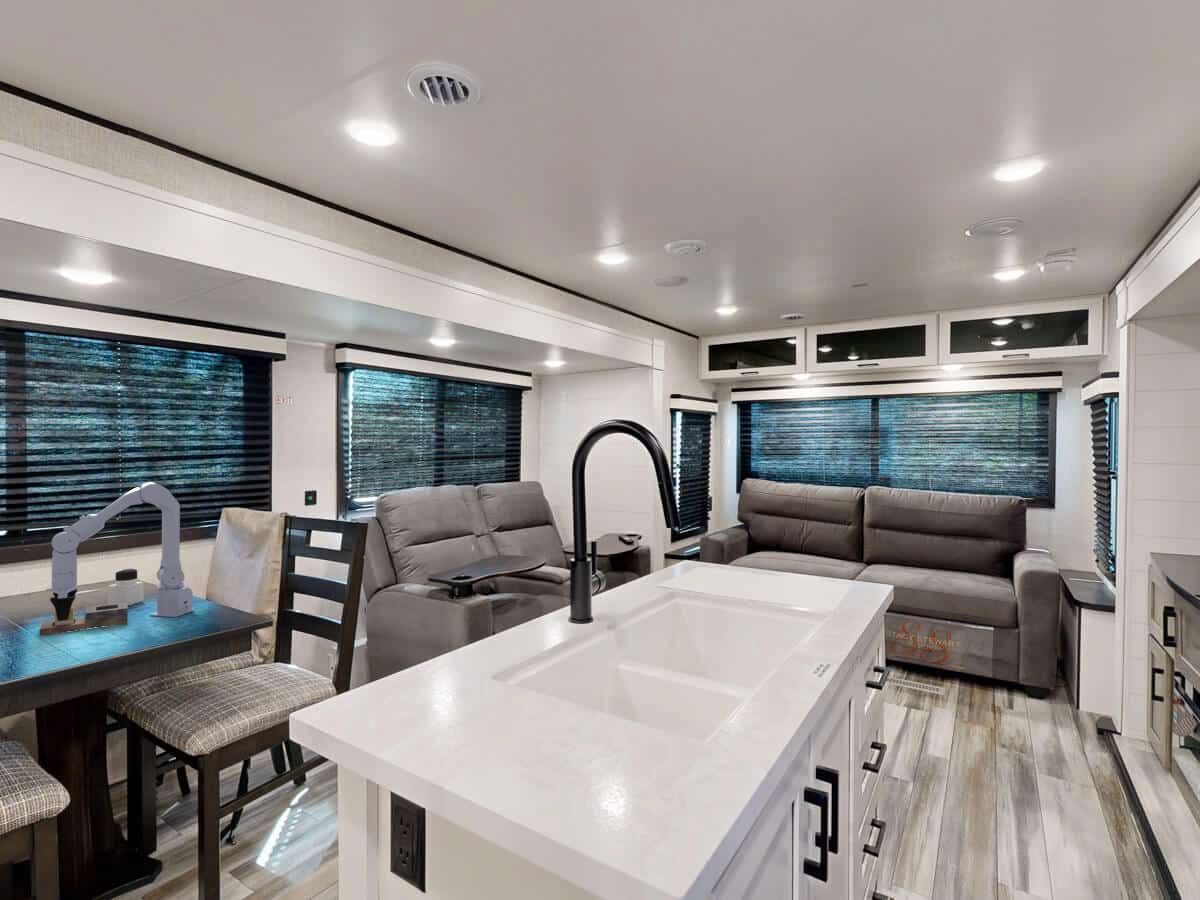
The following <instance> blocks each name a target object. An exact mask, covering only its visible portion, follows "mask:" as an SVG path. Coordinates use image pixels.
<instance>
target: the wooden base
mask: <svg viewBox="0 0 1200 900" xmlns="http://www.w3.org/2000/svg"><path fill="white" fill-rule="evenodd" d="M128 607H129V606H128V605H127V602H123V603H114V604H108V603H107V604H98V605H90V606H86V609H85V615H84V616H79V617H78V616H77V617H74V623H72V624H65V625H57V626H55V619H54V620H46V621H42V623H41V625H40V628H39V636H40V637H42V636H41V635H44V636H50V635H49V634H52V635H57V634H56V633H59V634H63V633H62V632H66V633H68V632H67V631H74V632H76V631H75V630H80V629H87V628H94V627H102V626H110V627H112V626H111V625H118V626H121V625H120V624H125V625H128V618H129V617H128V616H129V614H128V612H129V611H128V610H129V609H128Z"/></svg>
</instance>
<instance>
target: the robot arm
mask: <svg viewBox="0 0 1200 900" xmlns="http://www.w3.org/2000/svg"><path fill="white" fill-rule="evenodd" d="M143 501H144V502H145V503H147V504H151V505H154V506H155V507H157V509H159V510H161V561H160V567H159V569H158V571H157V572H156V578H157V579H158V581H159V583H158V585H157V588H156V611H155V612H152V613H150V614H149V616H150V617H151V616H153V617H165V618H166V617H168V618H169V617H170V618H171V617H172V618H177V617H179V616H182V615H185V613H186V614H188V613H190V612H191V613H192V612H194V611H195V609H194V608H193V597H194V596H193V591H192V589H191V588H190V587H186V586H185V584H184V580H185V573H184V572H183V570H182V563H181V559H180V553H181V552H180V543H181V542H180V539H181V538H180V537H181V535H180V533H181V532H180V531H181V530H180V529H181V528H180V526H181V523H180V520H181V517H180V516H181V511H180V510H181V509H180V508H181V505H180V503H179V502H178V500H177V499H176V498H175V497H174V495H173V494H172V493H171V492H170V491H169V489H168V488H166V487H164V486H162V485H161V484H158V483H156V482H153V481H147V482H144V483H142V484H140V486H137V487H135V488H133V489H131V490H129V491H127V492H126V493H124V494H123V495H121V496H120V497H119V498H118V499H116V500H115V501H113V502H111V503H110V504H109V505H107V506H106V507H105V508H103V509H102V510H101V511H99V512H97V513H95V514H94V513H92V514H90V513H89V514H87V515H86V516H85V515H82V516H79V520H78V521H76V522H74V523H73V524H72V525H70V526H69V527H67V526H66V527H64V528H63V531H62V532H58V533H56V534H55V535H54V536H53V537H52V539H51V542H50V544H51V547H52V548H53V549H52V558H51V587H46V589H45V592H51V593H52V595H53V597H52V596H51V597H50V598H49V601H50V603H51V604H52V605H53V607H54V609H55V610H56V615H57V619H58V621H63V620H68V617H69V613H70V608H71V606H72V605H73V603H74V601H75V599H76V597H77V596H76V594H77V592H78V588H79V585H78V555H77V549H78V546H79V544H80V543H83V542H85V541H86V540H88V539H89V538H91V537H92V536H94V535H95V534H97V533H99V532H100V531H101V530H102V529H103V528H105V523H106V521H108V520H110V519H111V518H112V517H114V516H116V515H118V514H119V513H121V512H122V511H124V510H126V509H127V508H128V507H130V506H134V505H135V506H136V505H142V504H143Z"/></svg>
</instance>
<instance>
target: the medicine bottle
mask: <svg viewBox="0 0 1200 900" xmlns="http://www.w3.org/2000/svg"><path fill="white" fill-rule="evenodd" d="M114 575H115V577H114V578H115V580H114V582H115V583H114V584H113V583H112V584H109V585H108V587H107V593H108V594H107V604H114V603H123V602H127V605H131V604H134V603H137V604H139V603H138V602H141V601H143V602H144V599H145V597H144V596H145V591H144V590H145V583H144V581H138V570H137V569H135V568H123V569H119V570H116V571H115V574H114ZM141 603H142V602H141ZM134 605H135V604H134ZM131 606H132V605H131Z"/></svg>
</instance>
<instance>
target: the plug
mask: <svg viewBox="0 0 1200 900" xmlns="http://www.w3.org/2000/svg"><path fill="white" fill-rule="evenodd" d="M54 617H55V618H54V620H55V626H57V625H65V624H72V623H74V618H75V605H74V604H72V606H71V608H70V613H69V617H68V620H63V621H58V619H57V615H56V610H55V611H54Z"/></svg>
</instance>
